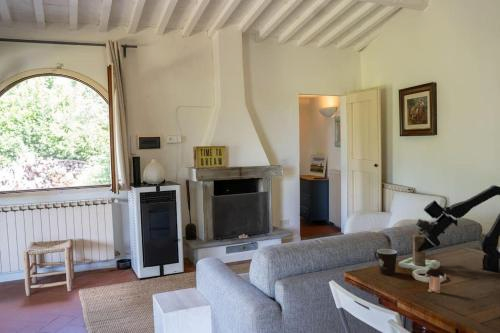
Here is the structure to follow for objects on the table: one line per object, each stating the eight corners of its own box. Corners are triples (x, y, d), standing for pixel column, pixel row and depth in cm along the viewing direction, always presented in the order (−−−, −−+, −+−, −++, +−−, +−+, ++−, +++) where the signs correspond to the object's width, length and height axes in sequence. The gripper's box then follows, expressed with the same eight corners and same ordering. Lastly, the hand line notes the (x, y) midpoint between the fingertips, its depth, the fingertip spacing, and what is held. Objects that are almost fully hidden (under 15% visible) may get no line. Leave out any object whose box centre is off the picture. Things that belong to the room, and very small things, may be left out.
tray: (440, 266, 189) (440, 262, 189) (425, 272, 181) (425, 268, 181) (413, 260, 200) (413, 256, 200) (398, 266, 192) (398, 262, 191)
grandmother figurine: (425, 292, 158) (424, 260, 157) (424, 289, 161) (424, 258, 160) (446, 294, 155) (446, 262, 154) (446, 291, 158) (445, 259, 158)
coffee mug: (400, 275, 178) (399, 253, 178) (380, 276, 178) (380, 254, 178) (391, 268, 190) (391, 247, 189) (373, 268, 190) (372, 247, 189)
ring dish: (450, 277, 173) (450, 273, 173) (435, 284, 166) (435, 279, 166) (422, 271, 183) (422, 267, 183) (408, 277, 175) (407, 273, 175)
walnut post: (423, 263, 192) (422, 234, 191) (425, 266, 188) (425, 236, 187) (413, 263, 193) (412, 234, 192) (415, 266, 189) (414, 236, 188)
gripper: (422, 210, 198) (399, 232, 200) (432, 217, 179) (406, 241, 182) (440, 226, 196) (416, 248, 199) (451, 234, 178) (425, 258, 181)
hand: (415, 248), depth 190 cm, fingers open, 9 cm apart
